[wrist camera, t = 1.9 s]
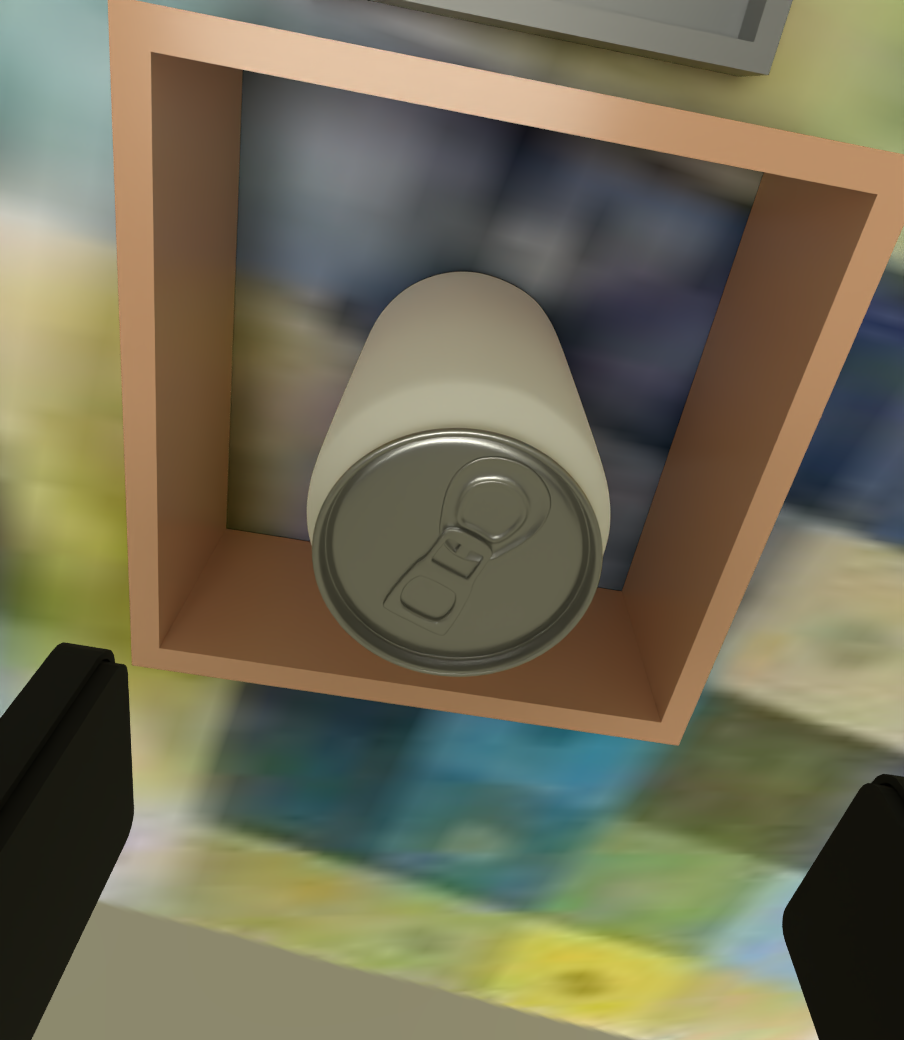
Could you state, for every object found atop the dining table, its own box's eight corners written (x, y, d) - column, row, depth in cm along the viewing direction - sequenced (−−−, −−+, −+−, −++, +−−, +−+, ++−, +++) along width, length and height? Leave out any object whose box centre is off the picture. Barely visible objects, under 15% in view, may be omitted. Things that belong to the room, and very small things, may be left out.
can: (602, 337, 25) (697, 518, 14) (492, 490, 28) (505, 736, 17) (428, 225, 23) (391, 336, 13) (330, 399, 26) (235, 608, 16)
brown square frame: (636, 611, 30) (678, 745, 24) (204, 543, 29) (132, 665, 23) (803, 140, 22) (931, 160, 16) (214, 22, 21) (107, -6, 15)
